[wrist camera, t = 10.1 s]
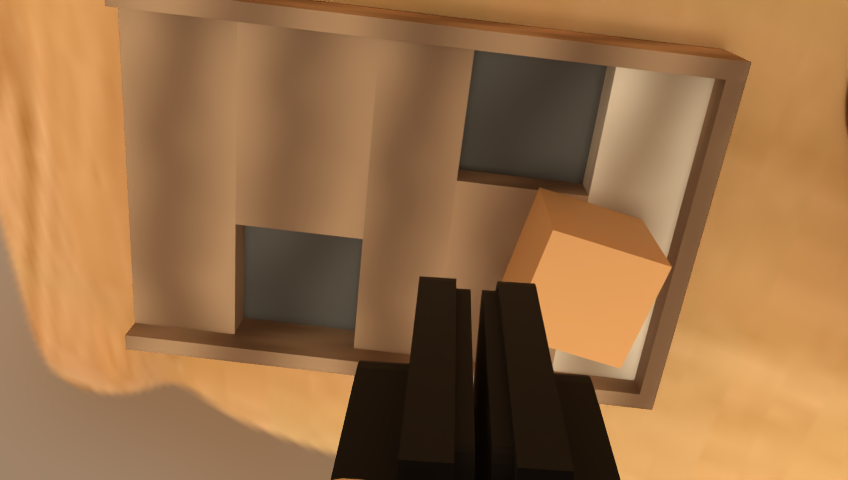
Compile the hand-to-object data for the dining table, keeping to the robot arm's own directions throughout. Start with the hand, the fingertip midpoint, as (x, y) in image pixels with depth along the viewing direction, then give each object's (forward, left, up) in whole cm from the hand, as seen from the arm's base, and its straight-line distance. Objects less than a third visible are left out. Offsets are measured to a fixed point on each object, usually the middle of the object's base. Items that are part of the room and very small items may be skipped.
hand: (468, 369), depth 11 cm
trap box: (+2, +6, -24) cm, 25 cm away
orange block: (-6, +8, -22) cm, 24 cm away
